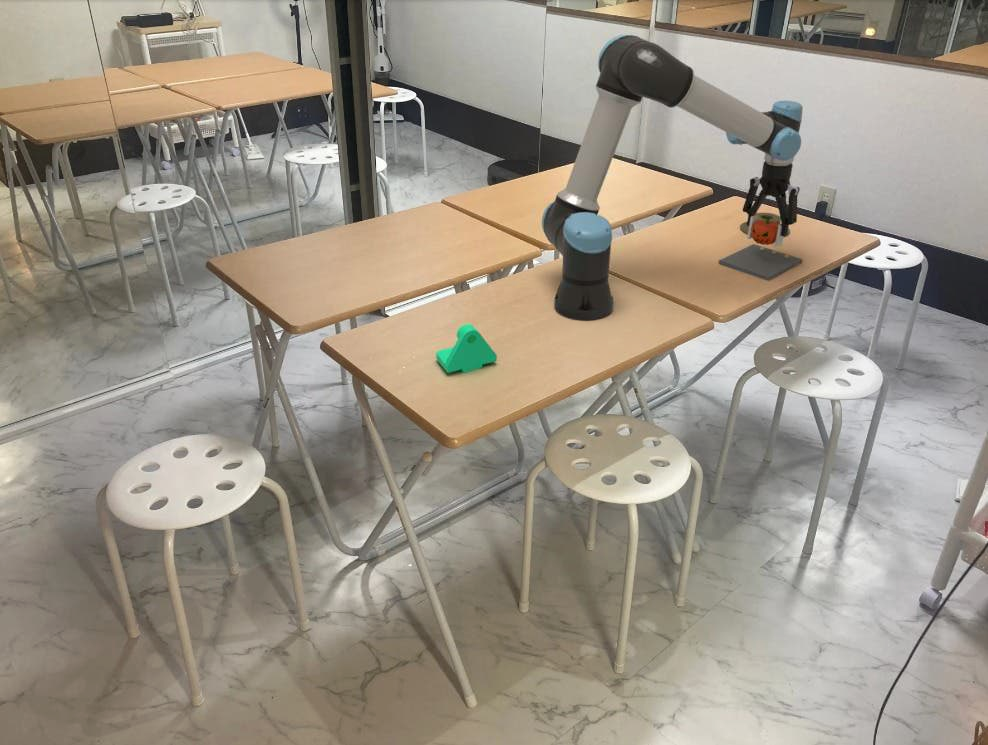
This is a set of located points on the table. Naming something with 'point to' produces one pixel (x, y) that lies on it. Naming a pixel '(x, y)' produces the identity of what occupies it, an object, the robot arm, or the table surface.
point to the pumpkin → (764, 232)
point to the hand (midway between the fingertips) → (764, 241)
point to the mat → (760, 261)
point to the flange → (762, 216)
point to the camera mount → (466, 351)
